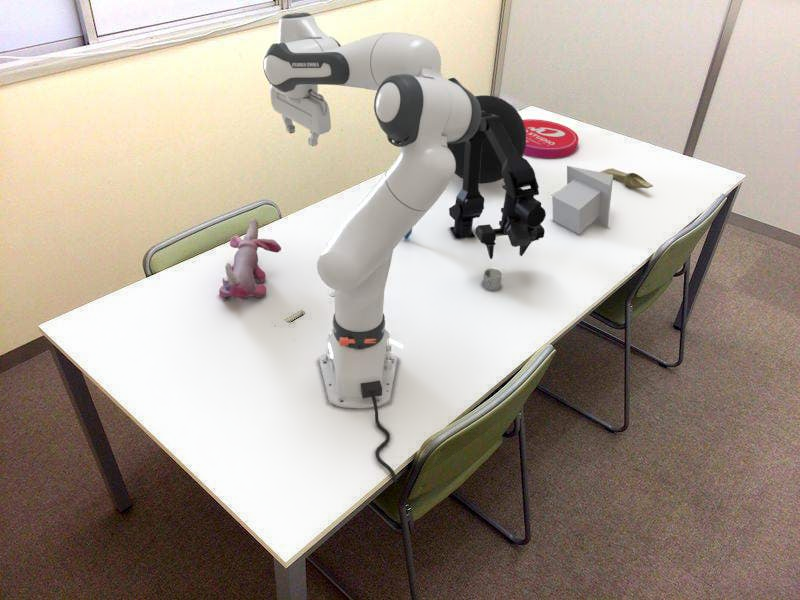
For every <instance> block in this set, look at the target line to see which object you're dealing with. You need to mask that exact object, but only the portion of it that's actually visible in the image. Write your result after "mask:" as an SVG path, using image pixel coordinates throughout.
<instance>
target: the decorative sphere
mask: <svg viewBox="0 0 800 600" xmlns="http://www.w3.org/2000/svg"><path fill="white" fill-rule="evenodd" d="M474 96H475V97H476V98H477V100H478V101H479V104H480V107H481V111H485V112H486V113H487V114H492V115H497V116H500V118H501V120H502V125H503V127H504V129H505V131H506V133H507V135H508V136H509V138H510V140H511V142H512V144H513V146H514V148H515V149H516V151H517V153H518V154H519V156H521V157H523V158H524V155H523V154H524V151H525V148H526V130H525V126H524V123H523V120H524V119H523V118H522V116H521V114H520V113H519V112H518V111H517V109H516V108H515V107H514V106H513V105H512V104H511V103H509V102H507V101H506V100H505V99H503V98H501V97H498V96H494V95H486V94H485V95H482V94H481V95H474ZM447 147H448V148H449V149H450V151H451V152H452V154H453V156H454V158H455V162H456V170H455V173H454V175H456V176H457V177H458V178H460V179H462V180H463V169H464V154H465V142H461V143H456V144H448V143H447ZM501 172H502V164H501V162H500V160H499V158H498V156H497V154H496V152H495V150H494V149H493V147H492V145H491V143H490V141H489V139H488V137H486V139H485V140H484V142H483V143H482V152H481V165H480V178H479V185H486V184H491V183H496V182H499V181H500V180H504V179H503V177H502V174H501Z"/></svg>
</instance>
